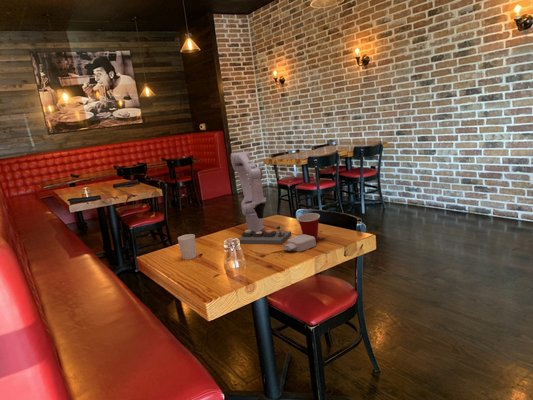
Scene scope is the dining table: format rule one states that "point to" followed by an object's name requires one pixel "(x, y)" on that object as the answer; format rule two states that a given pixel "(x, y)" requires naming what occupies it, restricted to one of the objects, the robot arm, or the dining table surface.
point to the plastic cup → (309, 224)
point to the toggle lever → (279, 229)
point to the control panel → (264, 237)
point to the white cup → (187, 246)
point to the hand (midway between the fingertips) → (260, 218)
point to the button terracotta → (269, 231)
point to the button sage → (248, 231)
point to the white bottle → (300, 243)
